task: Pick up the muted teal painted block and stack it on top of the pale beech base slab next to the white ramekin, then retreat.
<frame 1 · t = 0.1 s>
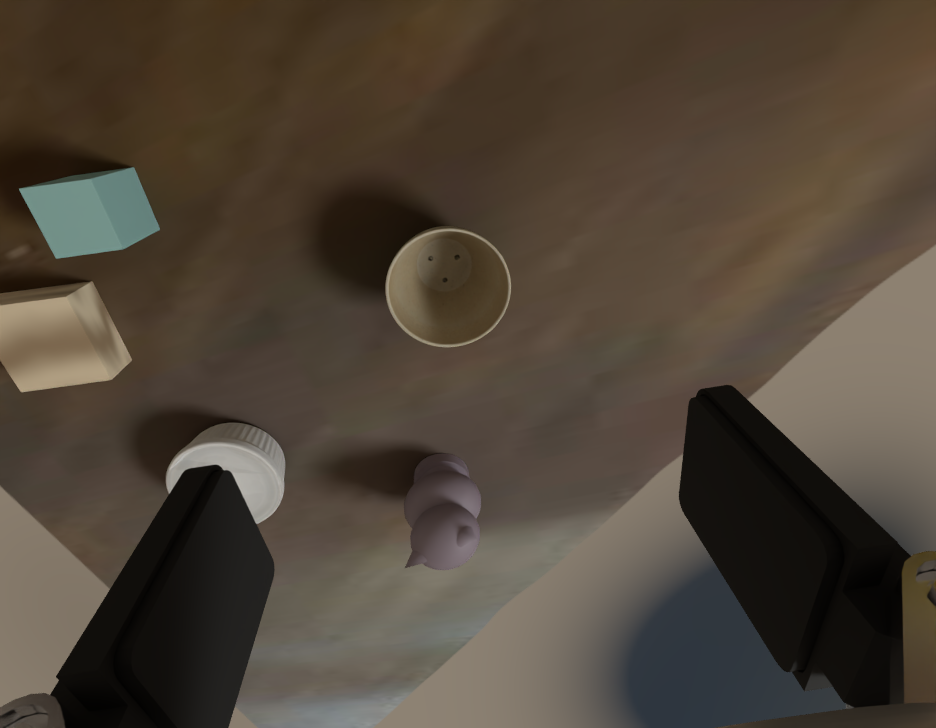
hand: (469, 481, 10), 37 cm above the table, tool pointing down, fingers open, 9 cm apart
base: (71, 326, 46), on the table
cat figurine: (441, 474, 58), on the table
block: (117, 203, 41), on the table
ramekin: (241, 453, 54), on the table
flower pot: (444, 263, 46), on the table
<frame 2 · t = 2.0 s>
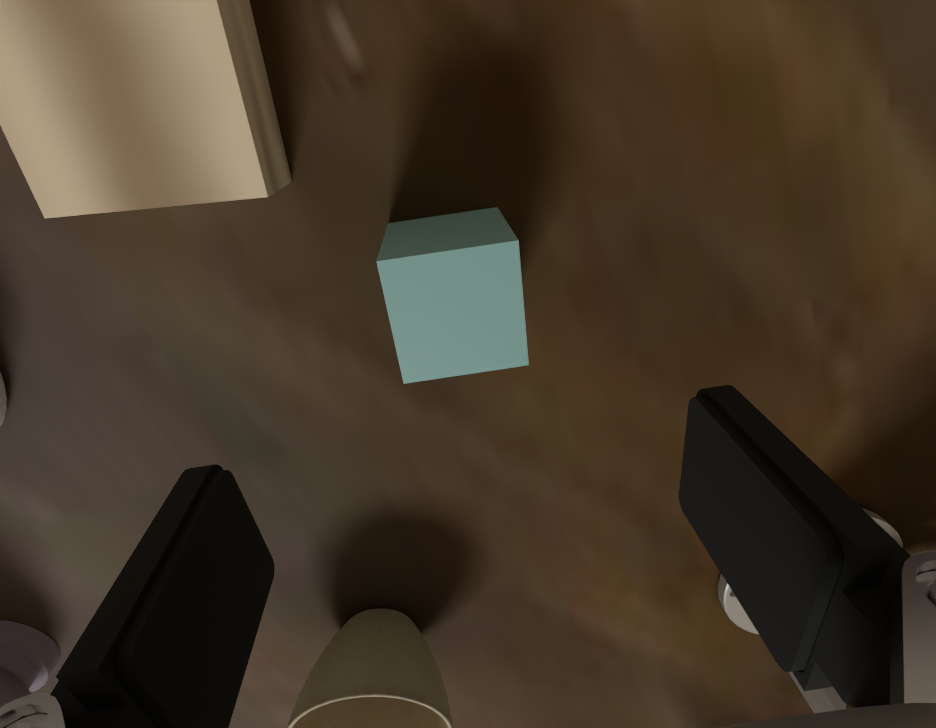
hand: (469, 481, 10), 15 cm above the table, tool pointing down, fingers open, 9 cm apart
base: (167, 84, 20), on the table
cat figurine: (9, 646, 34), on the table
block: (450, 267, 24), on the table
flower pot: (380, 627, 36), on the table
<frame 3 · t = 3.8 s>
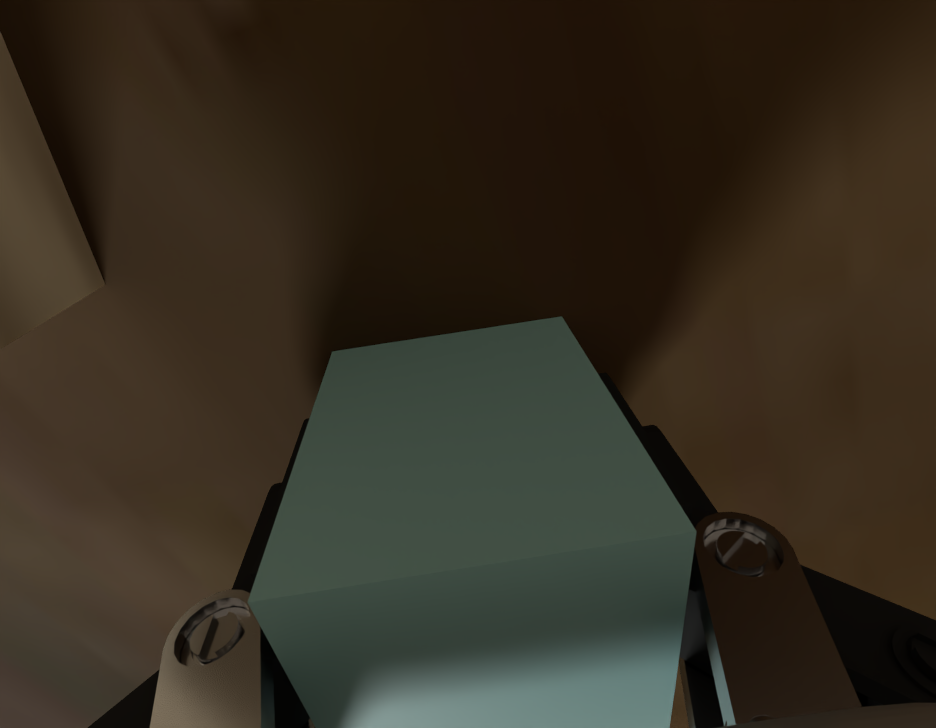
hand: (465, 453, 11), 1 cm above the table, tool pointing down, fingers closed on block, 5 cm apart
block: (462, 427, 12), on the table, touching gripper
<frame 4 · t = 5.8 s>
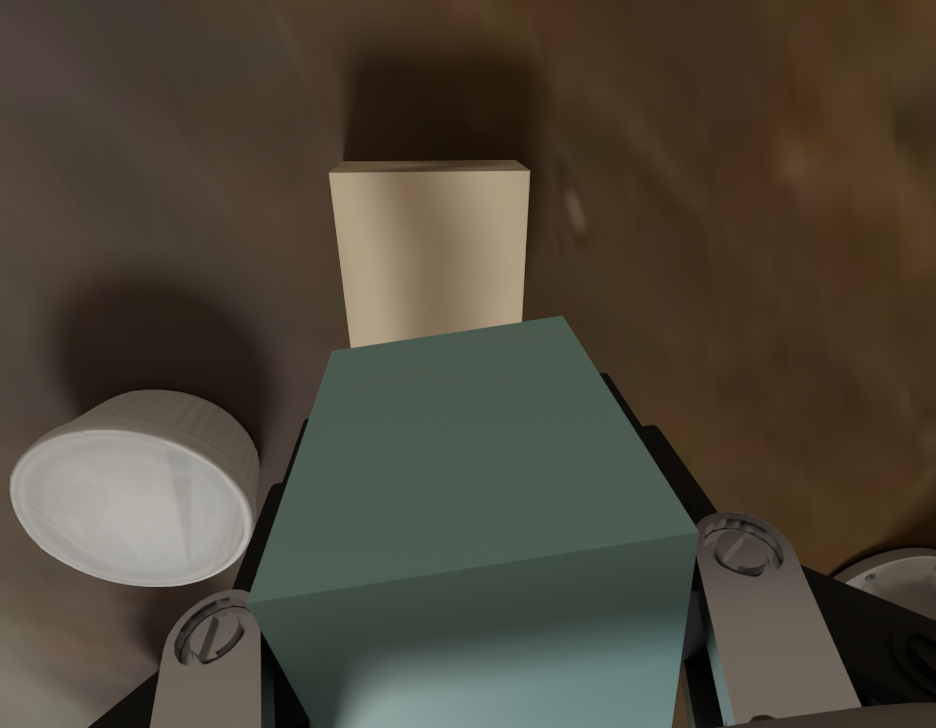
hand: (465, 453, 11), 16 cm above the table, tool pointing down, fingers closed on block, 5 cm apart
base: (433, 244, 25), on the table
block: (462, 426, 12), point 15 cm above the table, touching gripper
ramekin: (181, 449, 30), on the table
when the fingers open (6 cm above the table, at t = 8.0 s): block drops 1 cm, point 4 cm above the table.
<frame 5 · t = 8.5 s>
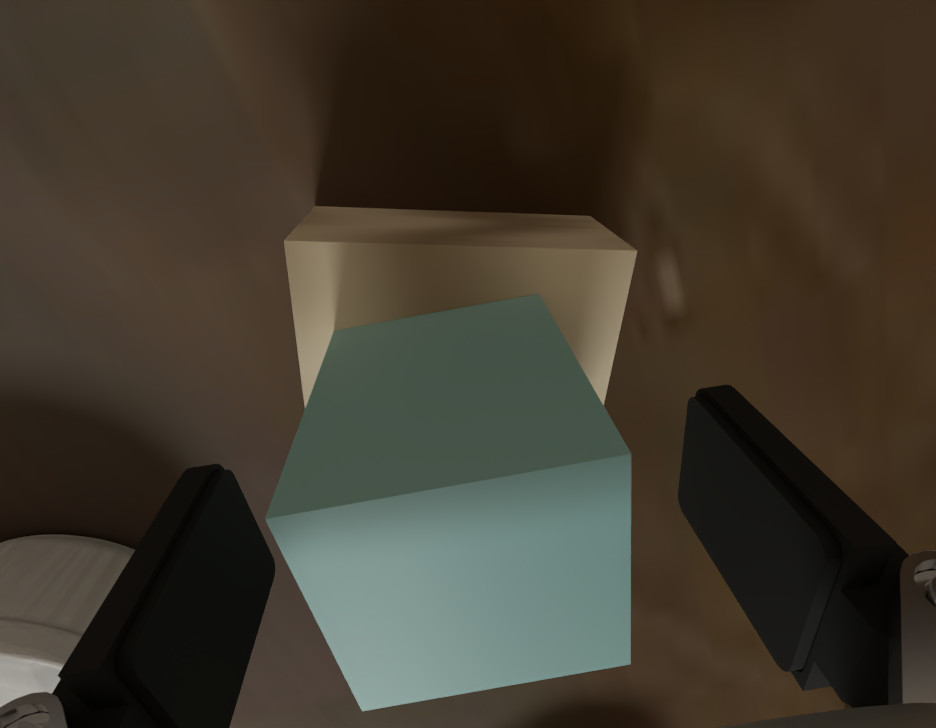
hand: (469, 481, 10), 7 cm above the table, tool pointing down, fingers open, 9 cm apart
base: (450, 331, 17), on the table
block: (454, 398, 13), point 4 cm above the table
ramekin: (91, 601, 21), on the table
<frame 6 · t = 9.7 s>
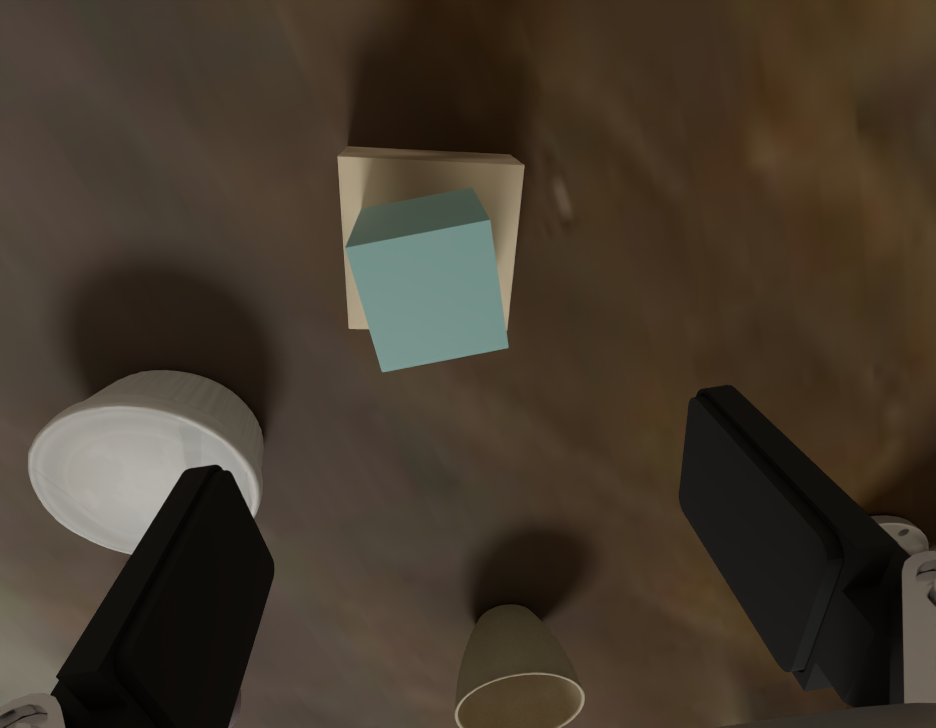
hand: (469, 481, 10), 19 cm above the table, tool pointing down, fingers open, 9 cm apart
base: (428, 230, 27), on the table, touching block
block: (428, 252, 23), point 4 cm above the table, touching base
ramekin: (187, 428, 31), on the table
flower pot: (504, 619, 44), on the table
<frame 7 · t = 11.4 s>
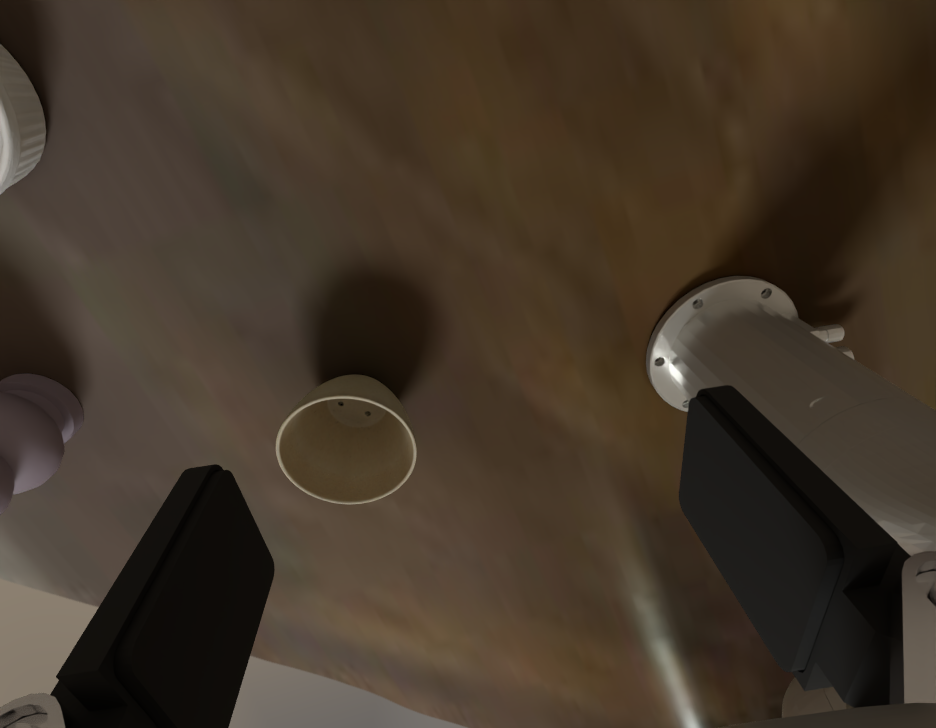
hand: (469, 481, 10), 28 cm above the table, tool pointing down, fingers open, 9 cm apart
cat figurine: (39, 405, 40), on the table
flower pot: (358, 399, 42), on the table
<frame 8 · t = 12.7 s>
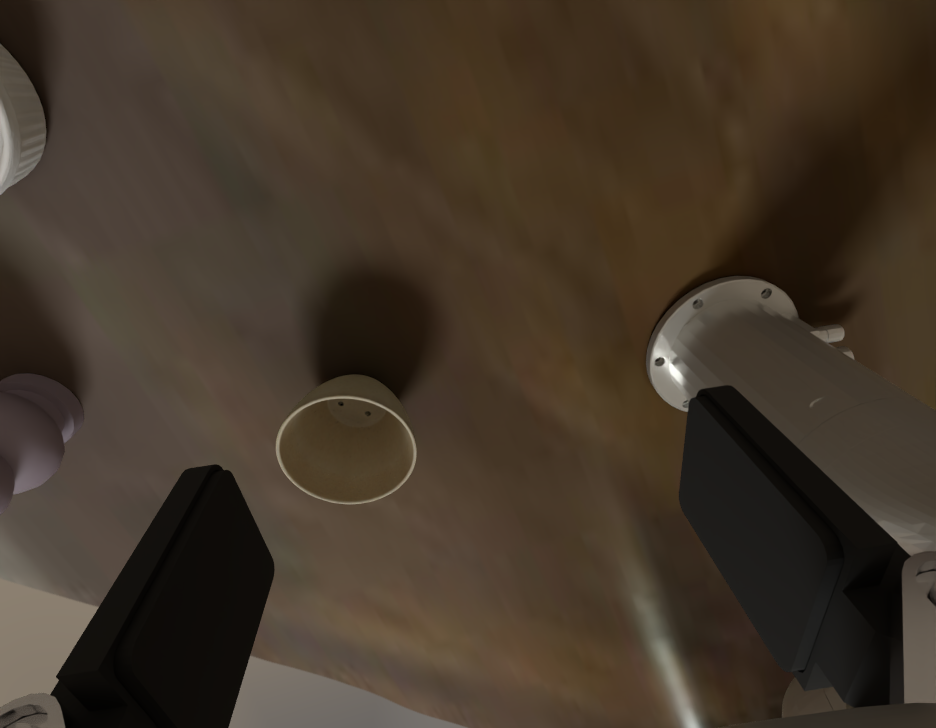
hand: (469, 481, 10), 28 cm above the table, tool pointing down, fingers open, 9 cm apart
cat figurine: (39, 405, 40), on the table
flower pot: (358, 399, 42), on the table
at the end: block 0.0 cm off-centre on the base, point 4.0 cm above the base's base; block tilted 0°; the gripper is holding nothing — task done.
